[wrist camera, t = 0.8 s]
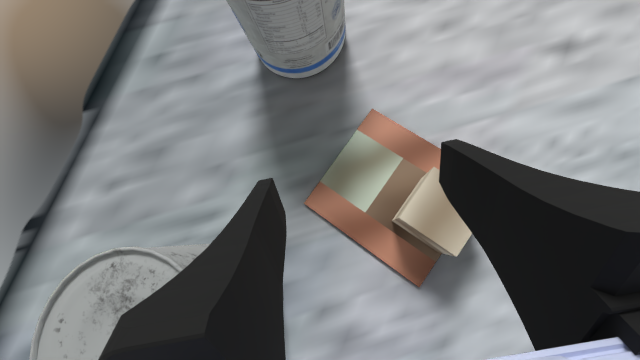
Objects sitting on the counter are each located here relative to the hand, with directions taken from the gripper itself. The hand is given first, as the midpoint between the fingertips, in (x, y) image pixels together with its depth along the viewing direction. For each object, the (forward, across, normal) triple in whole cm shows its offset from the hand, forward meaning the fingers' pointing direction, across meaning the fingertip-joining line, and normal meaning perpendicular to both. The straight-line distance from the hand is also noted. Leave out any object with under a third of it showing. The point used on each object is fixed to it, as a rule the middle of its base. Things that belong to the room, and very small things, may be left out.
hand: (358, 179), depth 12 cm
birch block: (+7, -6, +11) cm, 14 cm away
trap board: (+10, -4, +9) cm, 14 cm away
